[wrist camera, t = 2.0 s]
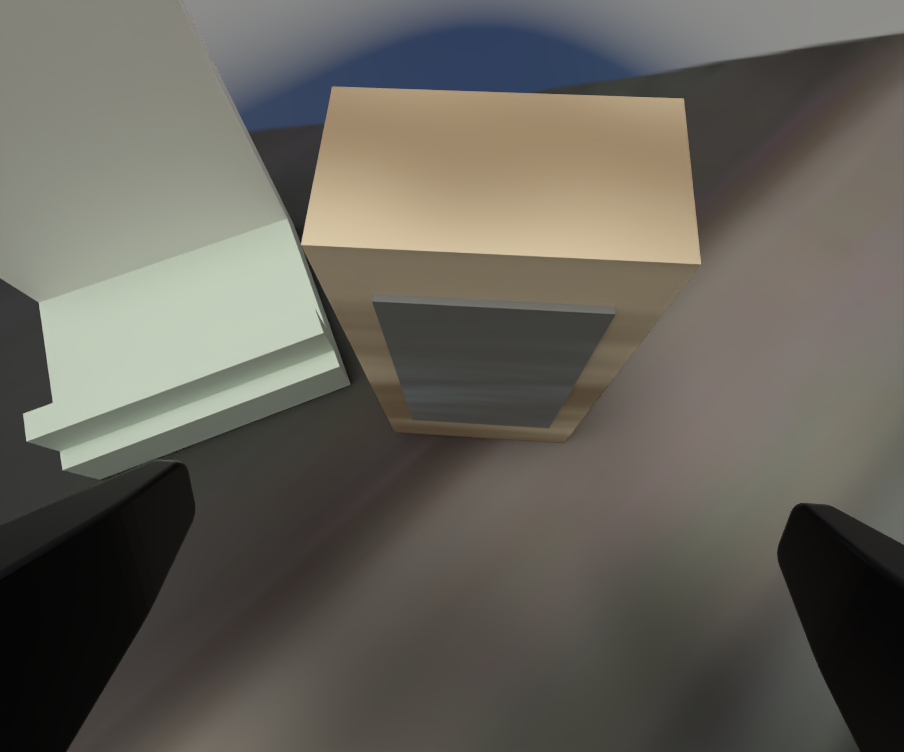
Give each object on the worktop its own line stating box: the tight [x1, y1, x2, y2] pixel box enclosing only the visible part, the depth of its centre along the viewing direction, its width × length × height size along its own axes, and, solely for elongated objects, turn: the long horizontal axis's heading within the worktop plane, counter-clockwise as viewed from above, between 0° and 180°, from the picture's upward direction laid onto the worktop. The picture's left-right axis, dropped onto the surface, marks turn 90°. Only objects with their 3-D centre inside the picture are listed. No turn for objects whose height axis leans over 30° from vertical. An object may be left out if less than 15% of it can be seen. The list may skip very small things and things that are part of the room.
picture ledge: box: [0, 0, 351, 480], centre depth 15 cm, size 8×10×14 cm
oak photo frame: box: [301, 87, 701, 443], centre depth 15 cm, size 4×6×12 cm, turn 86°
